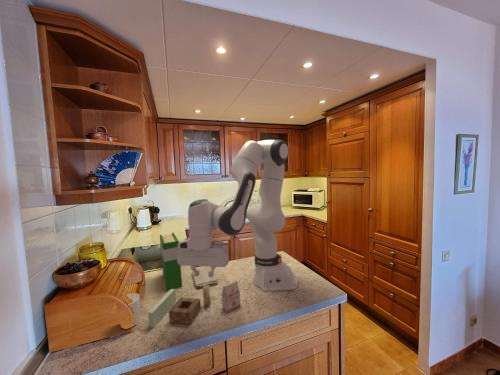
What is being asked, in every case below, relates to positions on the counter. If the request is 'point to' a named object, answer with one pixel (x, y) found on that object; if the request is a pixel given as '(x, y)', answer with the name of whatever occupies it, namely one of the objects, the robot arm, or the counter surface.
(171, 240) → the hardback book
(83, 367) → the counter surface
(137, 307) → the white cup
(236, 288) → the tea bag
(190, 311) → the block
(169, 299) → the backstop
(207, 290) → the dowel
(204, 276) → the washcloth
